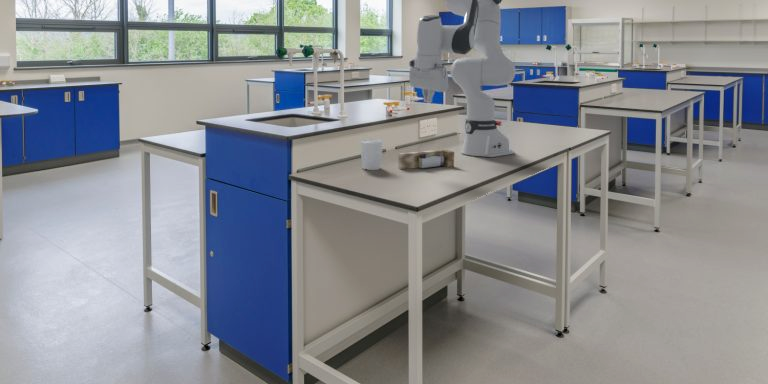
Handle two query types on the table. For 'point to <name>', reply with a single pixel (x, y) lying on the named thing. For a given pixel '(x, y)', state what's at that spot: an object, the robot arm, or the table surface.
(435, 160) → the crank handle
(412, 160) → the wooden l-bracket
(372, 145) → the white cup
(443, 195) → the table surface
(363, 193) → the table surface
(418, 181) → the table surface
